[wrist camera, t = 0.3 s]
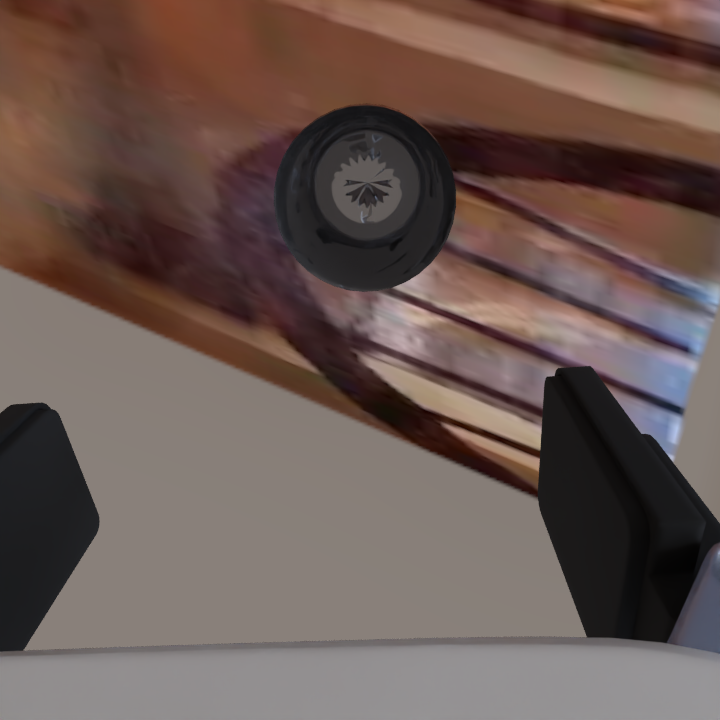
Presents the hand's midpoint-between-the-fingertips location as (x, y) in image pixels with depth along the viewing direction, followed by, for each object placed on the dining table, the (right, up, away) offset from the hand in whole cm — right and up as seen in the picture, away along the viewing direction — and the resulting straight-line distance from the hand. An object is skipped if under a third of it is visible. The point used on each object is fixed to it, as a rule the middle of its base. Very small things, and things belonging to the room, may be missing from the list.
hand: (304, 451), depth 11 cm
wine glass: (+2, +15, +27) cm, 31 cm away
